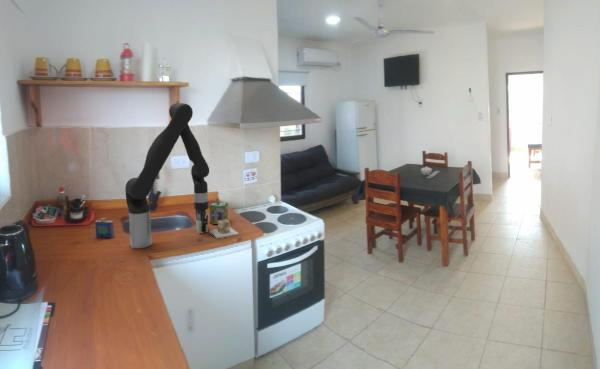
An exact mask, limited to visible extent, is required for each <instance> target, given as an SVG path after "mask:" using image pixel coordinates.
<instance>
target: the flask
mask: <svg viewBox="0 0 600 369" xmlns="http://www.w3.org/2000/svg"><path fill="white" fill-rule="evenodd" d="M106 218H107V217H102V218H101V219H97V220H95V222H94V224H95V236H96V238H97V239H101V240H102V239H105V240H106V239H108V240H110V239H111V240H112V239H114V238H115V230H114V221H113V220H106Z"/></svg>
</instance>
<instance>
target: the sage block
mask: <svg viewBox="0 0 600 369" xmlns="http://www.w3.org/2000/svg"><path fill="white" fill-rule="evenodd" d="M202 222H203V221H202ZM204 223H205V222H204ZM195 229H196V230H195V231H196V232H197V231H198V232H199V233H201V232H202V226H201V221H200V220H199V221H198V220H196V221H195ZM207 231H208V232H209V223H208V224H207V225H206V232H207ZM198 232H197V233H198ZM199 233H198V234H199Z"/></svg>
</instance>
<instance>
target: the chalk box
mask: <svg viewBox="0 0 600 369" xmlns="http://www.w3.org/2000/svg"><path fill="white" fill-rule="evenodd" d="M215 201H216V202H214V201H213V202H212V203H211V204H210V205H209V224H218V221H219V220H225V219H227V220H228V221H229V209H228V208H229V207H228V206H229V205H228V202H223V201H220V198H218V197H217V198H216V200H215Z"/></svg>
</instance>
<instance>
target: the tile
mask: <svg viewBox="0 0 600 369" xmlns="http://www.w3.org/2000/svg"><path fill="white" fill-rule="evenodd" d="M209 232H211V233H212V234H213V235H214V236H215V237H216V238H221V239H224V238H223V237H227V238H230V237H229V236H233V235H238V234H239V232H238V231H236V230H234V228H232V227H231V226H230V233H224V234H221V233H219V232H218V228H215V229H208V233H209ZM211 233H210V234H211ZM212 234H211V235H212ZM213 235H212V236H213ZM239 235H240V234H239ZM239 235H238V236H239ZM214 236H213V237H214ZM215 237H214V238H215ZM233 237H234V236H233ZM216 238H215V239H216Z"/></svg>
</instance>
